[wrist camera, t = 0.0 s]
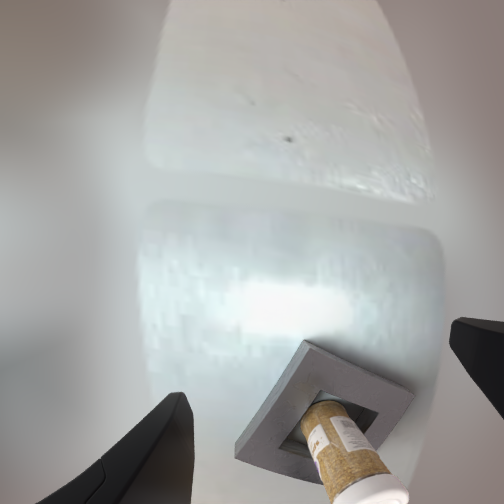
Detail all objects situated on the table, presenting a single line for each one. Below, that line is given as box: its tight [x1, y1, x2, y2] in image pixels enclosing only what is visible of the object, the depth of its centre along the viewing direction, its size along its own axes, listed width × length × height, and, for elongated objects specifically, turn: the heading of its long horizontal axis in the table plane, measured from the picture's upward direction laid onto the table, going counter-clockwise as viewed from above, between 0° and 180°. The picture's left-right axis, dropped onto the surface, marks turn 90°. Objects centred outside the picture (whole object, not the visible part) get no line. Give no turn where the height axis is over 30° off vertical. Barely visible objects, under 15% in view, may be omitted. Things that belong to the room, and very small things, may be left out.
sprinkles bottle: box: [300, 401, 409, 504], centre depth 16 cm, size 5×5×14 cm
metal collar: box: [234, 340, 415, 485], centre depth 21 cm, size 12×12×2 cm
